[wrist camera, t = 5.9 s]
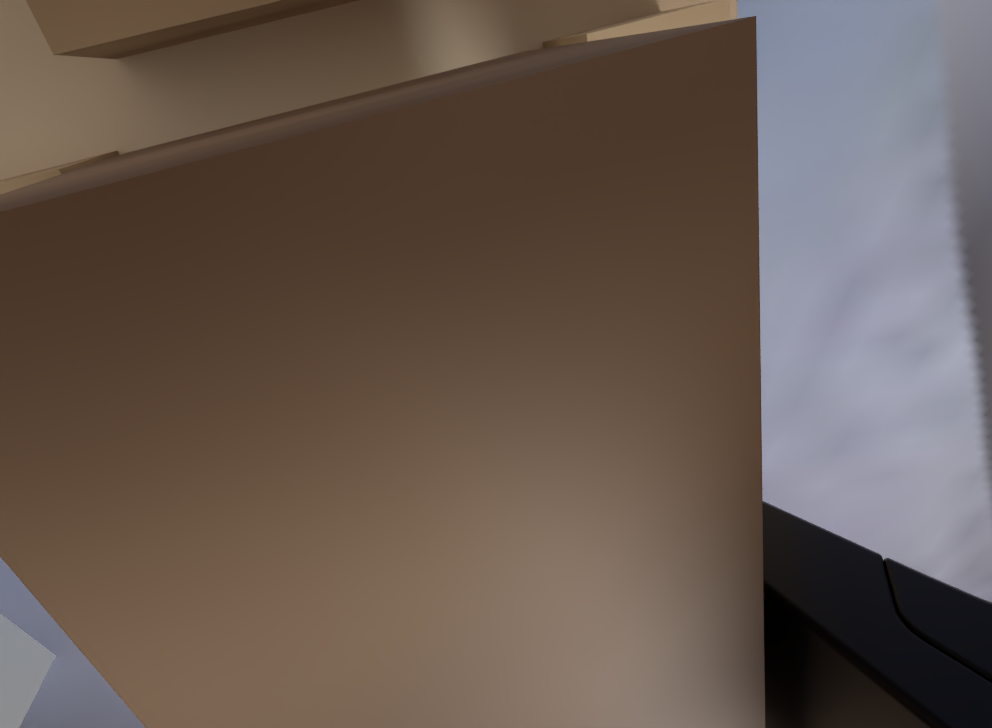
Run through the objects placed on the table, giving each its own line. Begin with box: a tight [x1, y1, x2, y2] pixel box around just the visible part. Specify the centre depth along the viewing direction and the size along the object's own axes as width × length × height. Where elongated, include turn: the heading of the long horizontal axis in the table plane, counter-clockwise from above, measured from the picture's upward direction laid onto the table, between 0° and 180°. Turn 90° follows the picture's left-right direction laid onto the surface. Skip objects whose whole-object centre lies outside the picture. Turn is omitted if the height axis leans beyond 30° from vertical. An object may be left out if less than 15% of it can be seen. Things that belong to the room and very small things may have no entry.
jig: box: [0, 0, 737, 195], centre depth 10 cm, size 16×12×3 cm
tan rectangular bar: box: [0, 16, 765, 728], centre depth 7 cm, size 11×4×4 cm, turn 13°
